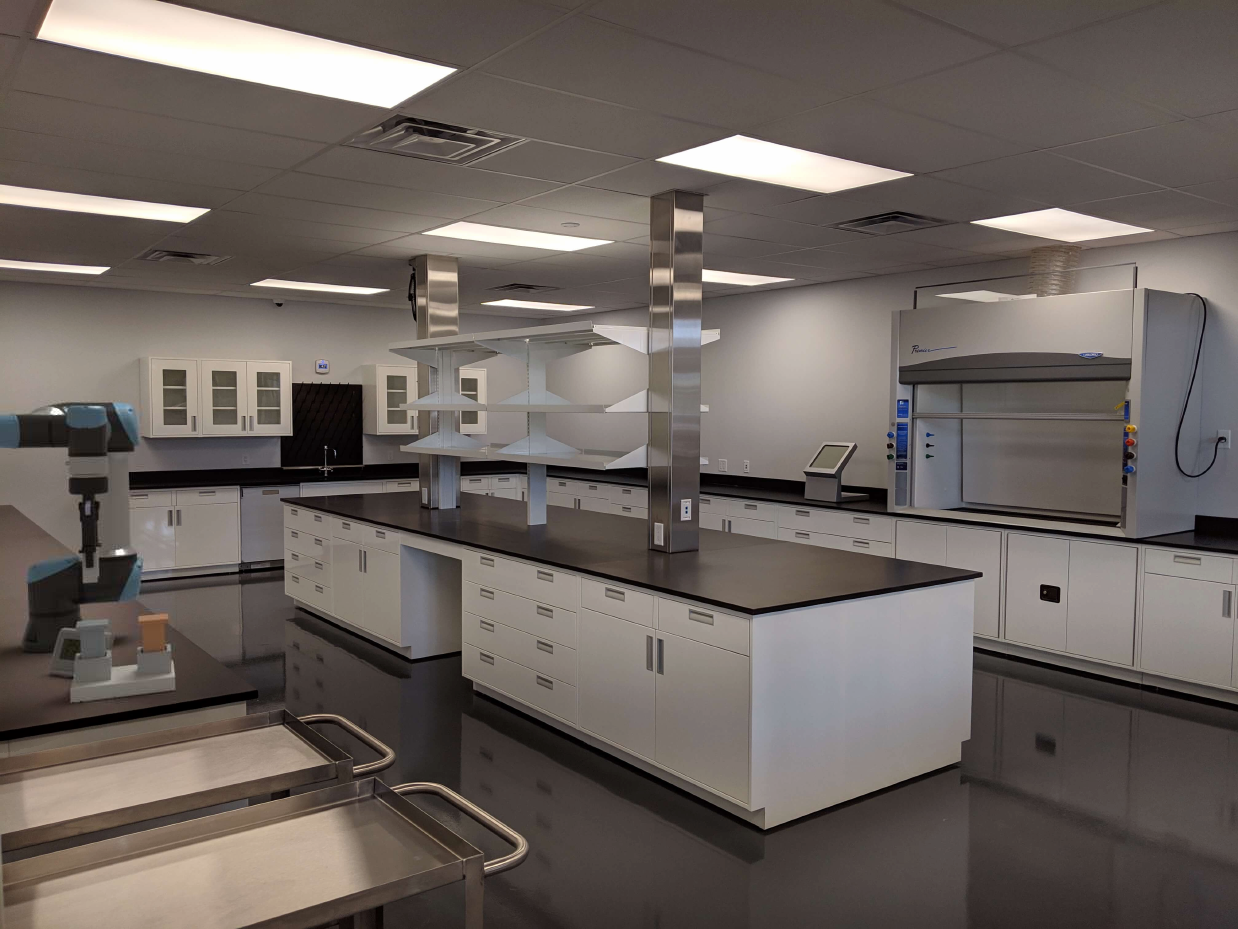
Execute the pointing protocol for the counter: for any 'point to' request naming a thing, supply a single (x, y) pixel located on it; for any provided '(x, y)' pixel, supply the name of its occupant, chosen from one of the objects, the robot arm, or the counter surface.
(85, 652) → the grey plunger
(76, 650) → the digital clock
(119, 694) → the button console
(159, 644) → the orange plunger
